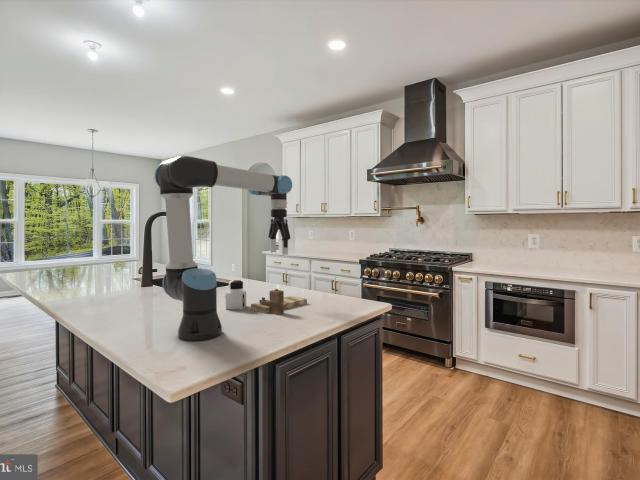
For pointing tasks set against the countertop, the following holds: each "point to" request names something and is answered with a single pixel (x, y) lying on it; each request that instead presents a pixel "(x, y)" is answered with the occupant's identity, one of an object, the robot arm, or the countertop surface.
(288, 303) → the board
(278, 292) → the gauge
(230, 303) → the container
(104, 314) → the countertop surface
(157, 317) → the countertop surface
